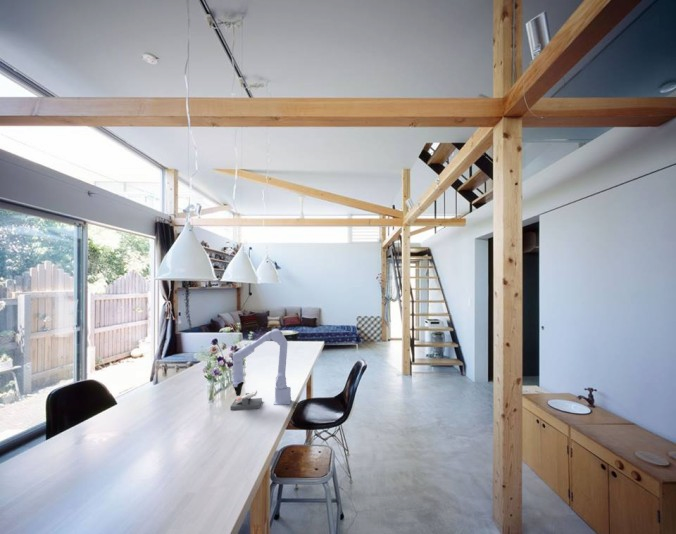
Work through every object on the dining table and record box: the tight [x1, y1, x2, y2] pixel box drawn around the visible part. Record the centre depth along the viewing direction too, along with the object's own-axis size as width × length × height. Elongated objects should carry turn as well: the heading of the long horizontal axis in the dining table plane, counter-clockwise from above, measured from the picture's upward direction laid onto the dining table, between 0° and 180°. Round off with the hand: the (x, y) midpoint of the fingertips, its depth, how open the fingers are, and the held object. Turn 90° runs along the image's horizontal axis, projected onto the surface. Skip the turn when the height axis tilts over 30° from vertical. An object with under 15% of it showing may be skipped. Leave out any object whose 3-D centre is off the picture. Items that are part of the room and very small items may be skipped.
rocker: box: [236, 389, 258, 404], centre depth 189 cm, size 12×6×1 cm, turn 94°
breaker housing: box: [230, 392, 263, 411], centre depth 189 cm, size 16×11×6 cm
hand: (238, 395), depth 189 cm, fingers closed
